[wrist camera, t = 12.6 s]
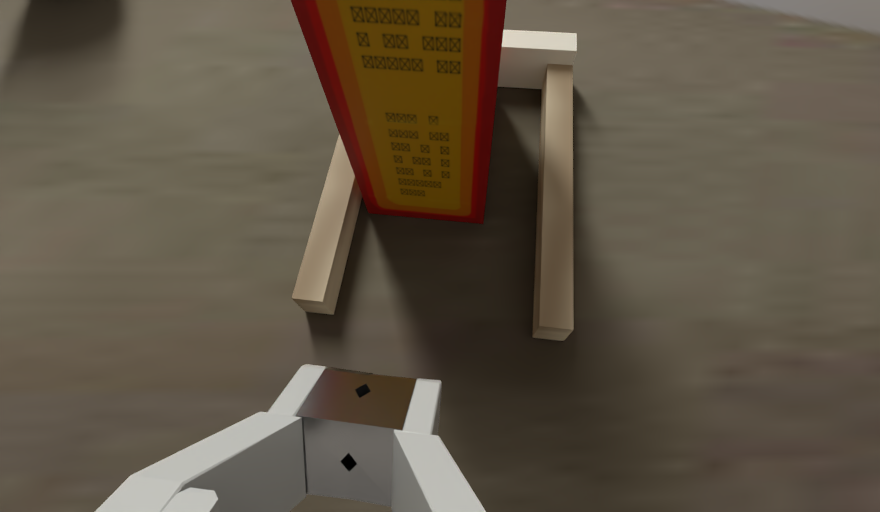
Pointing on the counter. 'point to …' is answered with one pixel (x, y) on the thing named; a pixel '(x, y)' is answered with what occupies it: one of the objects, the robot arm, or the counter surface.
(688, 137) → the counter surface
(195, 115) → the counter surface
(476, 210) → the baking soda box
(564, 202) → the slot rack
